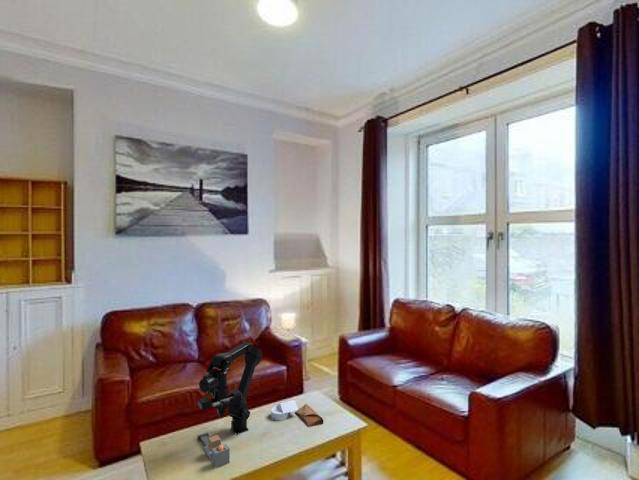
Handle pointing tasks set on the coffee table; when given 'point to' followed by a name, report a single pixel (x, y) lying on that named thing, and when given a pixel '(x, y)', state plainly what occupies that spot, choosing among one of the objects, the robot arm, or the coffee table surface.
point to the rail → (203, 438)
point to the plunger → (220, 448)
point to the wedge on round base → (283, 410)
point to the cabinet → (220, 456)
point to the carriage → (212, 444)
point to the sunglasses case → (309, 416)
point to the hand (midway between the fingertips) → (220, 417)
